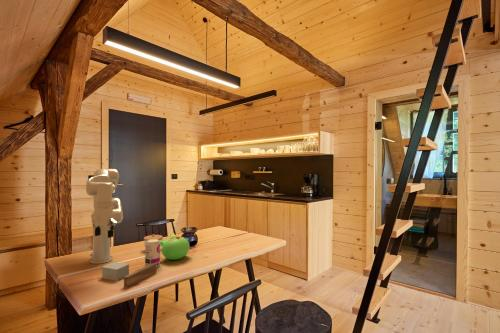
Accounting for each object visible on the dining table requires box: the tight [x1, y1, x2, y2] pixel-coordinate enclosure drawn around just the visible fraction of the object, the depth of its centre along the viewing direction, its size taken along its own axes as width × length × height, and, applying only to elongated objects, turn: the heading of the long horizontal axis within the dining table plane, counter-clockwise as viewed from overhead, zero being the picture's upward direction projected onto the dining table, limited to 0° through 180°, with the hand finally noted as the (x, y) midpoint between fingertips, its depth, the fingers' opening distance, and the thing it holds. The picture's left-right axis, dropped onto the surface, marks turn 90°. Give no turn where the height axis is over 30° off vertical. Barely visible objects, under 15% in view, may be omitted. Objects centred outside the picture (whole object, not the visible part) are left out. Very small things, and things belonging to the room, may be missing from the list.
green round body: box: [160, 233, 191, 261], centre depth 170 cm, size 18×17×15 cm
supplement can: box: [144, 239, 161, 268], centre depth 157 cm, size 8×8×15 cm
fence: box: [123, 263, 157, 289], centre depth 138 cm, size 2×20×5 cm, turn 159°
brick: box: [101, 261, 130, 282], centre depth 142 cm, size 10×8×6 cm
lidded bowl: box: [143, 233, 164, 248], centre depth 188 cm, size 13×13×11 cm
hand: (104, 236), depth 147 cm, fingers open, 9 cm apart
